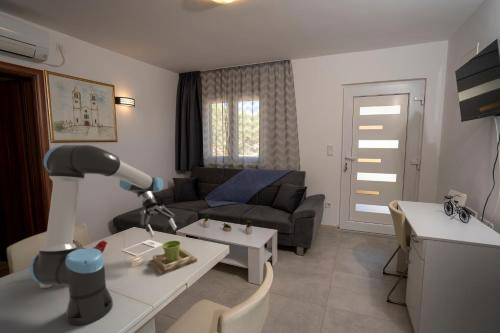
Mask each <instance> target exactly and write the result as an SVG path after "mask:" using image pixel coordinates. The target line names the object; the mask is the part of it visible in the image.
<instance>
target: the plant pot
mask: <svg viewBox="0 0 500 333" xmlns="http://www.w3.org/2000/svg"><path fill="white" fill-rule="evenodd" d="M162 244H163V245H162V246H161V247H162V248H163V250H164V251H163V252H165V255H166V260H167V262H173V261H177V260H178V259H179V247H180V248H181V244H182V243H181V241H180V240H170V241H166V242H164V243H162Z"/></svg>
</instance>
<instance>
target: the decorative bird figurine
mask: <svg viewBox="0 0 500 333" xmlns="http://www.w3.org/2000/svg"><path fill="white" fill-rule="evenodd" d="M108 244H109V242H107V241H105V240H101V241H99V242H98V243H97V244H96V245H95V246H93V247H92V248H94V249H97V250H99V251H101V253H102V254H103V253H104V252H105V249H106V247H107V245H108Z"/></svg>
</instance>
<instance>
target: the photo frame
mask: <svg viewBox="0 0 500 333" xmlns="http://www.w3.org/2000/svg"><path fill="white" fill-rule="evenodd" d="M141 244H143V245H146V246H149V247H151V248H149V249H148V250H145V251H143V252H141V253H140V252H139V253H138V254H136V253H133V252H132V251H128V250H129V249H132V248H135V247H137V246H139V245H141ZM163 244H164V243H161V242H158V241H155V240H151V239H147V240H143V241H142V242H139V243H137V244H134V245H131V246H129V247H126V248H124V249H122V251H123V252H125V253H127V254H130V255H132V256H134V257H138V256H141V255H143V254H145V253H148V252H150V251H152V250H156V249H157V248H160V247H162V245H163Z"/></svg>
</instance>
